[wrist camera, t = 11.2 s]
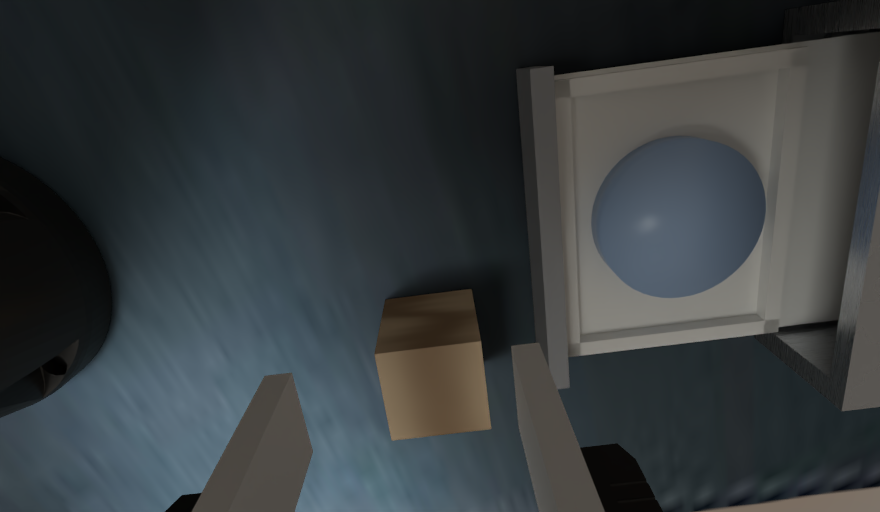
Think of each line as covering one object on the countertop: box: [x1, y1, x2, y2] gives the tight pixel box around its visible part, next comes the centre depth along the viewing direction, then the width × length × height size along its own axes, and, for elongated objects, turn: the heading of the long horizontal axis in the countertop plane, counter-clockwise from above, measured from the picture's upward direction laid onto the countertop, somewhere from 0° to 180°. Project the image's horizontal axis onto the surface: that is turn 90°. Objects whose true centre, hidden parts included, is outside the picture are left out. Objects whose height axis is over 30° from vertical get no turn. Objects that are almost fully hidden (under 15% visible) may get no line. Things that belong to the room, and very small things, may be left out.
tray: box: [516, 31, 880, 389], centre depth 26 cm, size 18×16×4 cm
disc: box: [591, 136, 766, 298], centre depth 26 cm, size 8×8×2 cm
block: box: [375, 289, 491, 440], centre depth 28 cm, size 5×5×6 cm
